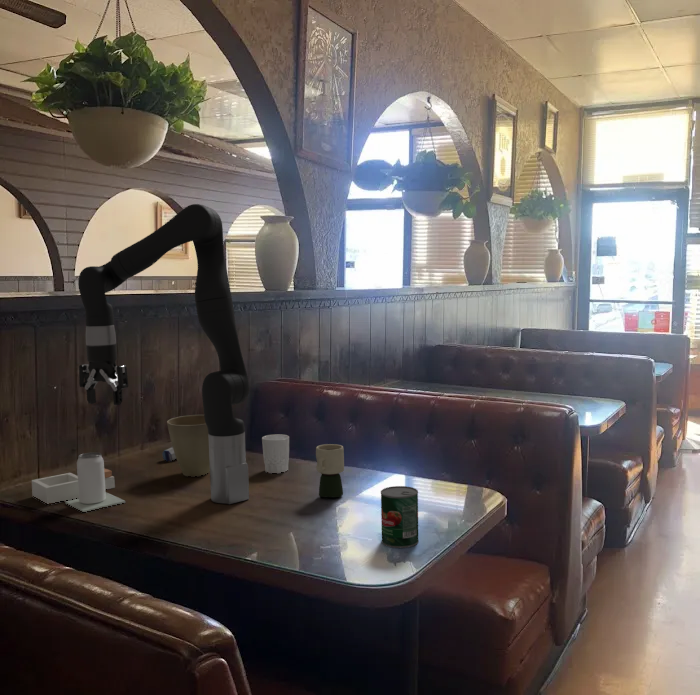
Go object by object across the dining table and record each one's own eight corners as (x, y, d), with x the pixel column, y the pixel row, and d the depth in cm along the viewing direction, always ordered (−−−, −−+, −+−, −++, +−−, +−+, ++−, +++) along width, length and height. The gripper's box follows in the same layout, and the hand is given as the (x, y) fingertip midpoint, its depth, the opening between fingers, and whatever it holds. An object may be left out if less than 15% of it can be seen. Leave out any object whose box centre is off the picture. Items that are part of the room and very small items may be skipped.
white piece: (118, 489, 205) (117, 473, 205) (47, 505, 192) (46, 487, 192) (102, 481, 213) (101, 466, 212) (32, 496, 200) (31, 480, 199)
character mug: (329, 489, 200) (328, 441, 199) (353, 492, 196) (352, 443, 195) (308, 500, 190) (306, 450, 189) (332, 504, 187) (331, 453, 186)
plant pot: (161, 473, 221) (158, 419, 219) (207, 464, 229) (205, 412, 228) (182, 483, 209) (180, 427, 207) (230, 474, 217) (228, 419, 216)
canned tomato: (374, 544, 159) (373, 493, 158) (392, 532, 166) (391, 484, 165) (408, 550, 155) (407, 498, 154) (425, 538, 162) (424, 488, 160)
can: (109, 501, 192) (106, 455, 191) (83, 506, 188) (80, 459, 187) (101, 495, 197) (99, 450, 196) (76, 500, 194) (73, 454, 192)
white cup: (275, 475, 215) (274, 441, 214) (257, 471, 220) (256, 437, 219) (295, 470, 220) (294, 436, 219) (277, 465, 226) (276, 433, 225)
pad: (125, 503, 192) (125, 500, 192) (83, 513, 185) (83, 510, 185) (106, 494, 200) (106, 492, 200) (65, 503, 193) (65, 501, 193)
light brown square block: (112, 487, 207) (111, 470, 206) (94, 490, 203) (93, 474, 203) (104, 483, 210) (103, 467, 210) (87, 487, 207) (86, 471, 206)
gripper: (132, 341, 198) (135, 402, 200) (90, 341, 204) (93, 400, 205) (113, 344, 191) (116, 407, 193) (69, 344, 197) (73, 405, 198)
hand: (104, 404), depth 199 cm, fingers open, 8 cm apart
